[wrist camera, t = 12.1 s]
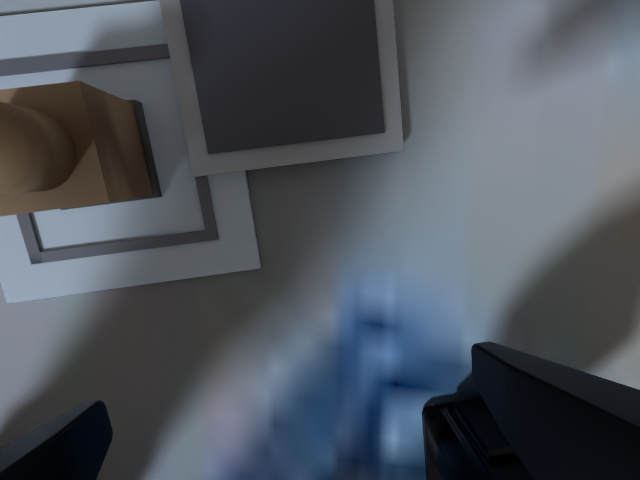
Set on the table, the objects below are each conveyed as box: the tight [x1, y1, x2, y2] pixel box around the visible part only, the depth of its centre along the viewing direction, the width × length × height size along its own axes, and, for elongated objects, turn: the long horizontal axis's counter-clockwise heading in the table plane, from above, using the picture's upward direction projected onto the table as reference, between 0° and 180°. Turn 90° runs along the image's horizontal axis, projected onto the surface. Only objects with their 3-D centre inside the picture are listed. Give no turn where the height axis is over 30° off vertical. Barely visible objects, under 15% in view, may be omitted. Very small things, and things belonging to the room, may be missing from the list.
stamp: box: [0, 81, 162, 217], centre depth 14 cm, size 5×5×8 cm
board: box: [0, 0, 261, 303], centre depth 18 cm, size 14×14×1 cm
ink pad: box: [159, 0, 404, 177], centre depth 17 cm, size 11×11×2 cm
